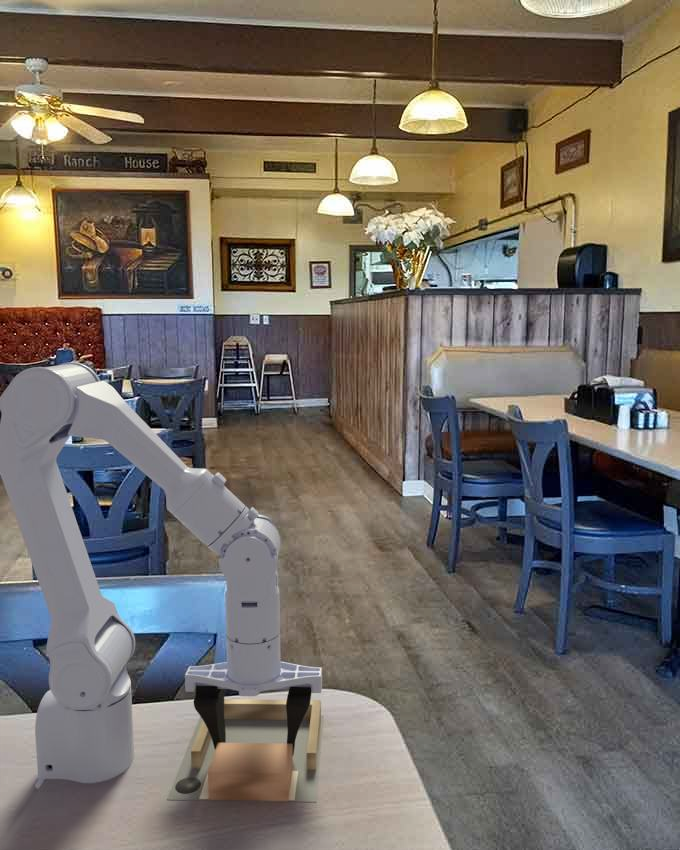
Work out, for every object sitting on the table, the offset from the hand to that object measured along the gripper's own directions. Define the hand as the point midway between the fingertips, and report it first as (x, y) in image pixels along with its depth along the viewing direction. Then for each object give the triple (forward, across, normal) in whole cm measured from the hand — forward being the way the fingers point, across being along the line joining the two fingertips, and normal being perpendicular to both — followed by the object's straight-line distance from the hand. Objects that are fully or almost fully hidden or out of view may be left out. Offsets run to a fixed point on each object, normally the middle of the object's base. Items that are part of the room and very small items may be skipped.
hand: (255, 750), depth 76 cm
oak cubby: (+1, 0, +4) cm, 4 cm away
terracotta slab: (+1, 0, -4) cm, 4 cm away
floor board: (+2, 0, +1) cm, 2 cm away
